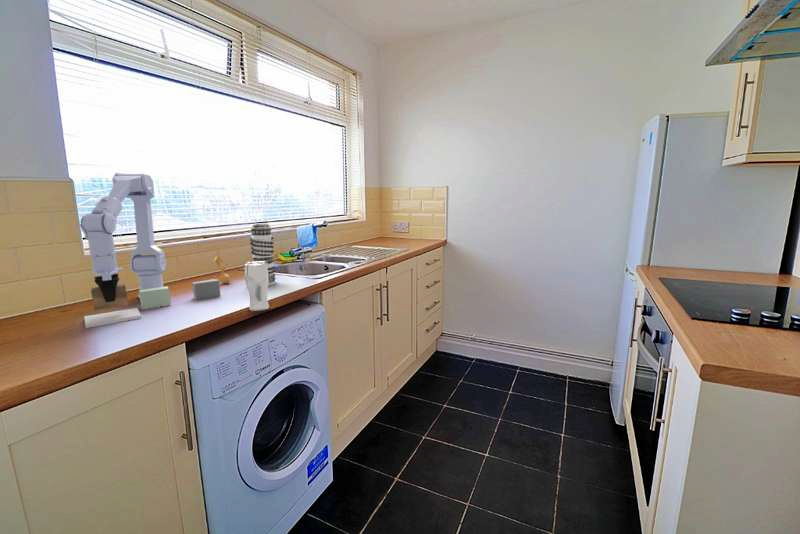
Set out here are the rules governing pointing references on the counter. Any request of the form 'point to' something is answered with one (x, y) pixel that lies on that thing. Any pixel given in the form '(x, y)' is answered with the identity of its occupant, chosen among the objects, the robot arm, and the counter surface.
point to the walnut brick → (102, 304)
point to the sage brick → (154, 297)
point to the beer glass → (257, 285)
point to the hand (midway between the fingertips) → (110, 300)
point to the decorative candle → (263, 248)
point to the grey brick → (206, 289)
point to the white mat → (111, 317)
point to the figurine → (222, 270)
